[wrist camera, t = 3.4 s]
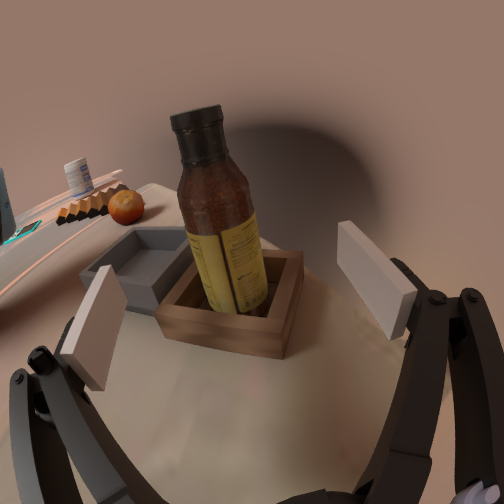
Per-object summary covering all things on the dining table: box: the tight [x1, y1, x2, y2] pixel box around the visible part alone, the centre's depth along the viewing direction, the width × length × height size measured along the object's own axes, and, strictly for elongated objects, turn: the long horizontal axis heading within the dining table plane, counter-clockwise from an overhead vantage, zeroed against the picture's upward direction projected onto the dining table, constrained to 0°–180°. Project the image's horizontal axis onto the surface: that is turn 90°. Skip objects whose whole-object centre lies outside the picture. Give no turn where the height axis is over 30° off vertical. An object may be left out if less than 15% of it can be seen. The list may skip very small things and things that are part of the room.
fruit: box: [108, 190, 144, 226], centre depth 55 cm, size 8×8×8 cm
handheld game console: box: [3, 220, 41, 245], centre depth 68 cm, size 10×16×1 cm, turn 113°
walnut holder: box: [154, 249, 304, 360], centre depth 28 cm, size 12×12×4 cm
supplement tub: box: [64, 157, 94, 200], centre depth 86 cm, size 10×10×15 cm
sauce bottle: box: [170, 104, 269, 317], centre depth 24 cm, size 7×6×20 cm
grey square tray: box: [78, 227, 195, 317], centre depth 34 cm, size 13×13×4 cm
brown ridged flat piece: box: [56, 184, 129, 226], centre depth 67 cm, size 25×3×25 cm
